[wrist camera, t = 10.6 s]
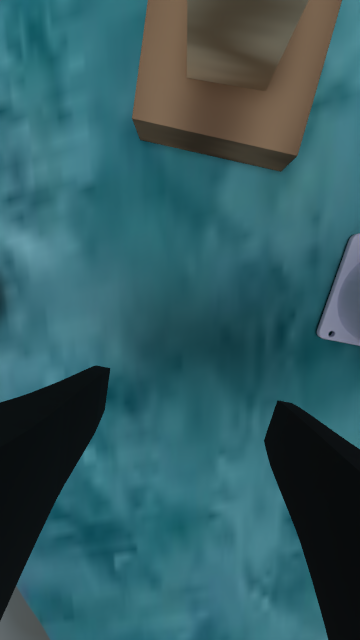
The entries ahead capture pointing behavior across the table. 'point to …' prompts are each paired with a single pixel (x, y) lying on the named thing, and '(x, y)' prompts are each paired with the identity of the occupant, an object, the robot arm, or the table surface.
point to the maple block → (239, 39)
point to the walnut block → (229, 92)
